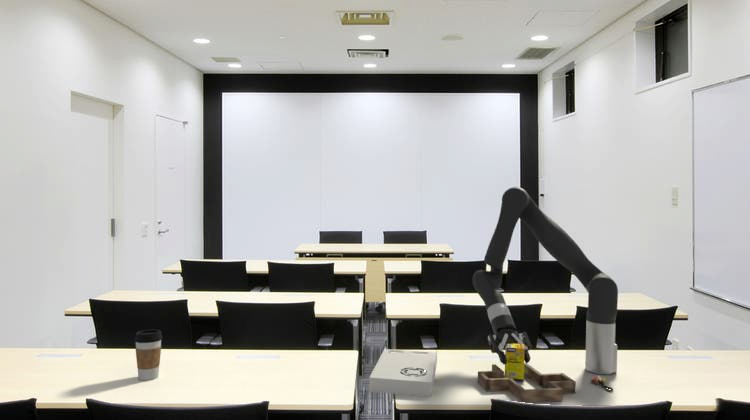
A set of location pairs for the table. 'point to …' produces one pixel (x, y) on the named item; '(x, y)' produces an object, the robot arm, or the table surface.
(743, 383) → the table surface
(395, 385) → the white flat box
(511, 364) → the supplement box
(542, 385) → the trap lane
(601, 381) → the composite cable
